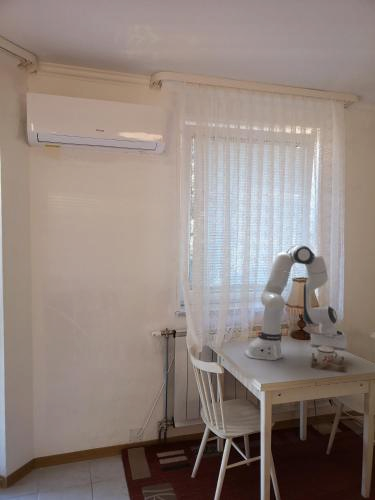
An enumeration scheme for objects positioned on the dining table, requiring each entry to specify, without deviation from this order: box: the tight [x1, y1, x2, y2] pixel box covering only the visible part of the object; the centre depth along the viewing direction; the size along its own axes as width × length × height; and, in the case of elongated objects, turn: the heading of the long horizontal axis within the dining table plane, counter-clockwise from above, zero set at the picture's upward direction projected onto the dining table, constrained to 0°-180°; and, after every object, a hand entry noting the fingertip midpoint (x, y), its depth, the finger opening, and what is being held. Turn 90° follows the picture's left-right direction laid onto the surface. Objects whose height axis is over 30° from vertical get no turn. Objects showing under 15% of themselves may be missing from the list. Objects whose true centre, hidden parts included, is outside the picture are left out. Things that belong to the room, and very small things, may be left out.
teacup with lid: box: [316, 344, 338, 365], centre depth 207 cm, size 12×9×12 cm
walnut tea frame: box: [310, 352, 346, 373], centre depth 207 cm, size 17×18×3 cm
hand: (328, 355), depth 208 cm, fingers closed
